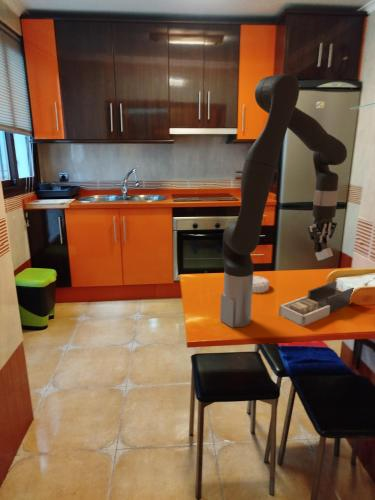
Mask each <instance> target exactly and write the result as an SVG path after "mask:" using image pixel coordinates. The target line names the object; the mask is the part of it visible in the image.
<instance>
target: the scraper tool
mask: <svg viewBox="0 0 375 500" xmlns="http://www.w3.org/2000/svg"><path fill="white" fill-rule="evenodd" d="M318 238H319V235H318ZM312 241H313V240H312ZM313 244H314V245H315V241H313ZM327 246H328V245H327ZM327 246H326V244H325V242H324V239H323V237H322V245H321V252H315V253H314V255H315V257H316V259H317V261H322V260H325V259H327V258H331V257H333V256H334V254H333V251H332V248H331V247H327Z"/></svg>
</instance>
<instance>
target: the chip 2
mask: <svg viewBox="0 0 375 500" xmlns="http://www.w3.org/2000/svg"><path fill="white" fill-rule="evenodd" d="M301 303H302V304H304V305H307V306H308V311H307V313H310V312H312V311H315V310H317V309H318V302H316V301H313V300H310V299H308V298H307V299H306V300H304V301H301Z"/></svg>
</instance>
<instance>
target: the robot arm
mask: <svg viewBox="0 0 375 500" xmlns="http://www.w3.org/2000/svg"><path fill="white" fill-rule="evenodd" d="M299 97H300V82H299V78H298V77H297V76H296V75H295V74H292V73H281V74H274V75H268V76H266V77H265V76H264V77H263V78H261V79H260V80H259V81H258V82H257V84H256V86H255V89H254V98H255V102H256V104H257V105H258V107H259V108H261V109H262V110H263V111H264V112H266V113H267V114H268V115H267V120H266V122H265V125H264V127H263V130H262V131H261V133H260V134H259V136H258V137H257V138H256V139H255V141H254V142H253V144H252V145H251V146H250V148H249V150H248V152H247V154H246V156H245V159H244V164H243V168H242V172H241V178H240V179H241V180H240V209H239V213H238V216H237V220H233V221H231V222H229V223H228V224H227V225H226V226H225V228H224V230H223V234H222V235H223V236H222V262H223V267H224V268H223V271H224V273H223V293H221V295H220V317H219V318H220V319H219V320H220V321H221V322H222V323H224V324H225V325H227V326H229V327H230V328H231V329H232V328H233V329H234V328H242V327H246V326H248V325H250V324H251V320H252V302H253V301H252V300H253V292H252V287H253V276H254V268H255V267H254V263H253V260H252V257H251V256H252V255H251V253H253V252H254V251H255V249H256V248H257V246H258V244H259V243H260V236H261V230H262V224H263V220H264V212H265V209H266V205H267V202H268V198H269V196H270V191H271V188H272V184H273V181H274V177H275V174H276V169H277V165H278V161H279V158H280V154H281V150H282V146H283V143H284V140H285V137H286V134H287V130H290V131H291V132H292V133H293V134H294V135H295V136H296V137H297V138H298V139H299V140H300V141H301V142H302V143H303V144H304V145H305V146H306V148H307V149H309V150H310V151H312V152H313V153H312V162H313V165H314V172H315V178H316V180H315V190H314V195H313V203H312V205H313V206H312V213H311V214H312V216H313V217H314V220H313V224H312V225H308V226H307V231H308V235H309V237H310V240H311V241H315V244H314V246H313V247H314V248H313V251H314V252H315V253H316V252H321V245H322V237H323V239H324V242H325V244H326V246H328V241H329V239H332V238H333V235H334V233H335V230H336V227H337V225H338V223H337V222H334V221H333V219H334V218H335V217H336V212H337V205H338V204H337V203H338V185H339V175H338V173H336V172H333V171H331V170H330V166H339V165H341V164H343V163H344V162H345V161H346V159H347V156H348V150H347V148H346V145H345V144H344V142H342V141H341V140H339V139H338V138H336V137H335V136H333V135H331V134H330V133H328V132H327V131H326V130H325V128H324V127H323V126H322V125H321V123H319V121H317V120H316V119H315V118H314V117H312V116H311V115H309V114H308V113H306V112H305V111H303V110H301V109H300V108H298V107H296V106H297V104H298V99H299ZM318 235H319V238H318Z"/></svg>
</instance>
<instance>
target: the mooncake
mask: <svg viewBox="0 0 375 500" xmlns="http://www.w3.org/2000/svg"><path fill="white" fill-rule="evenodd" d="M269 288H270V281H269V279H267V278H266V277H263V276H259V275H258V276H257V275H253V287H252V294H254V293H259V294H260V293H264V292H267V291H269V290H270V289H269Z"/></svg>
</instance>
